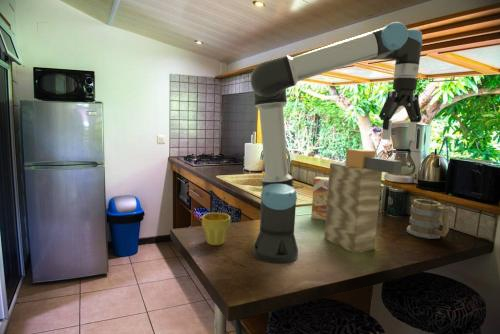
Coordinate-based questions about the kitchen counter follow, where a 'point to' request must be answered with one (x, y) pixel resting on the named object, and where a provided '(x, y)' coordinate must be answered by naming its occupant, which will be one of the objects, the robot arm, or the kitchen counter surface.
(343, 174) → the zigzag striped pillar
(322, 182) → the coffeecake box
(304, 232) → the kitchen counter surface
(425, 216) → the tankard
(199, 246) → the kitchen counter surface
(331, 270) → the kitchen counter surface
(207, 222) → the plant pot
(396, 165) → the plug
